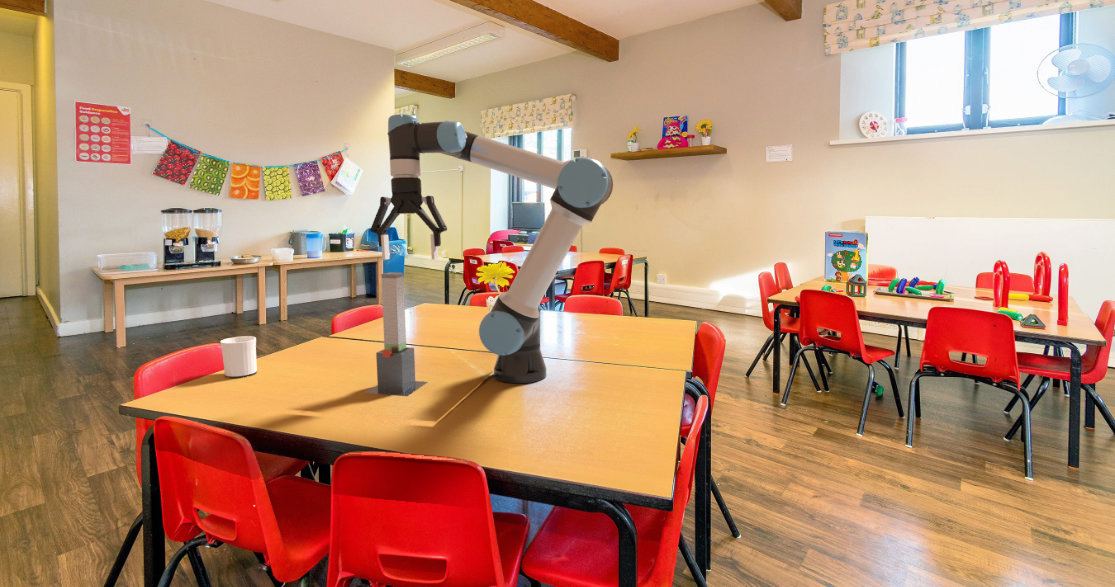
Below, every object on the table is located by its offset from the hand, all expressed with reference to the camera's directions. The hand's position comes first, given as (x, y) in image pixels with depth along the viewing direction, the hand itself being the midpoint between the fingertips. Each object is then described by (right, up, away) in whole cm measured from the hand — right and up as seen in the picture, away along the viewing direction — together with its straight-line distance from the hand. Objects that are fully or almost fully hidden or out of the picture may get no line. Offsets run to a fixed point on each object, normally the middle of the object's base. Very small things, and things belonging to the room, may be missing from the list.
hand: (410, 259), depth 144 cm
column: (-3, -27, -2) cm, 27 cm away
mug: (-54, -33, +14) cm, 64 cm away
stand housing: (-3, -35, -1) cm, 35 cm away
